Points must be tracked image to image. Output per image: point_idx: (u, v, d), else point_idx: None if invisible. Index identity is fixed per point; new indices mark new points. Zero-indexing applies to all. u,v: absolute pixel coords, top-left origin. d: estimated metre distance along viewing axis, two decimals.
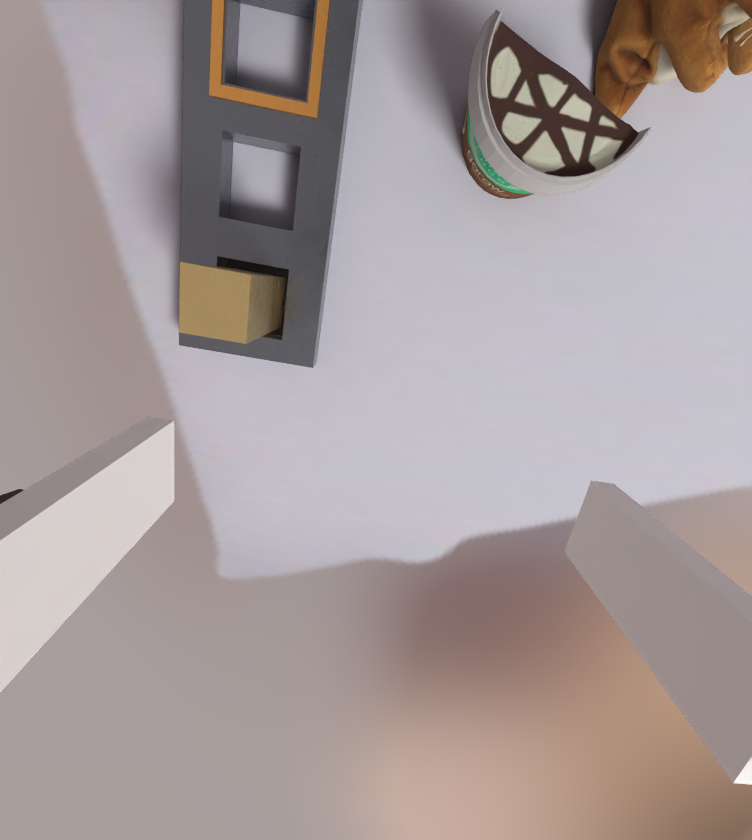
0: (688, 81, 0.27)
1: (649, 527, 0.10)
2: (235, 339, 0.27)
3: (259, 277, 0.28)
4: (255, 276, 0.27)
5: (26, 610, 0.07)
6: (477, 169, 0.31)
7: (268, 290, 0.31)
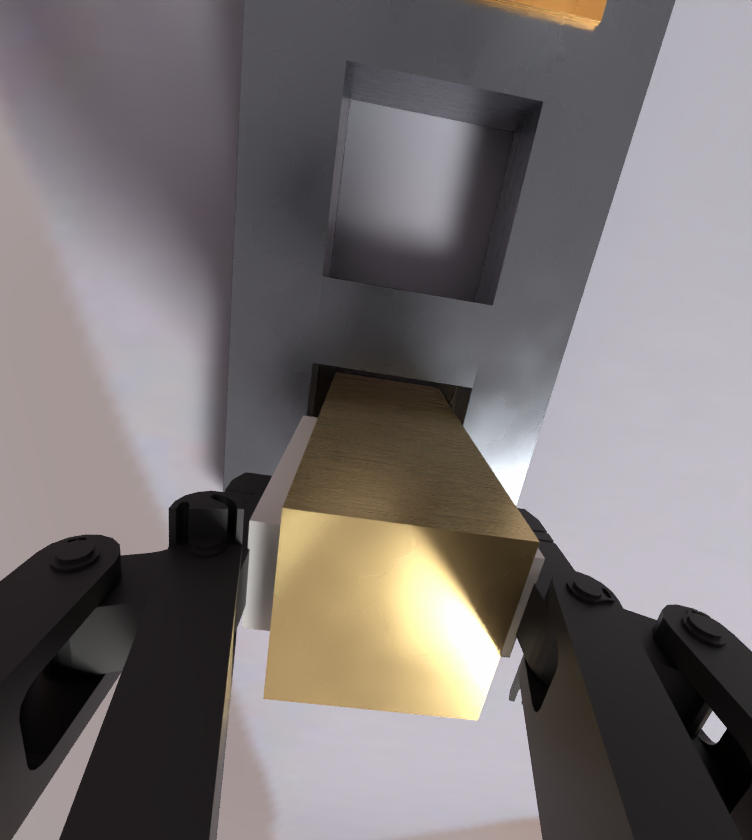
0: None
1: None
2: (445, 710, 0.08)
3: None
4: None
5: None
6: None
7: None
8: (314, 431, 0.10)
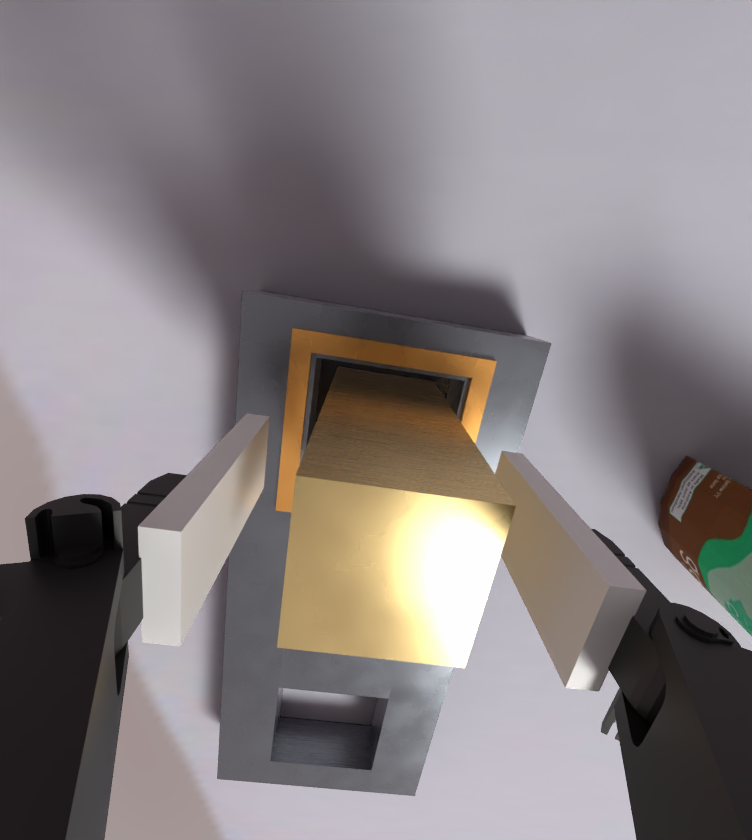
0: None
1: (534, 485, 0.11)
2: (436, 659, 0.09)
3: None
4: None
5: (202, 568, 0.08)
6: (702, 584, 0.19)
7: None
8: (320, 416, 0.11)
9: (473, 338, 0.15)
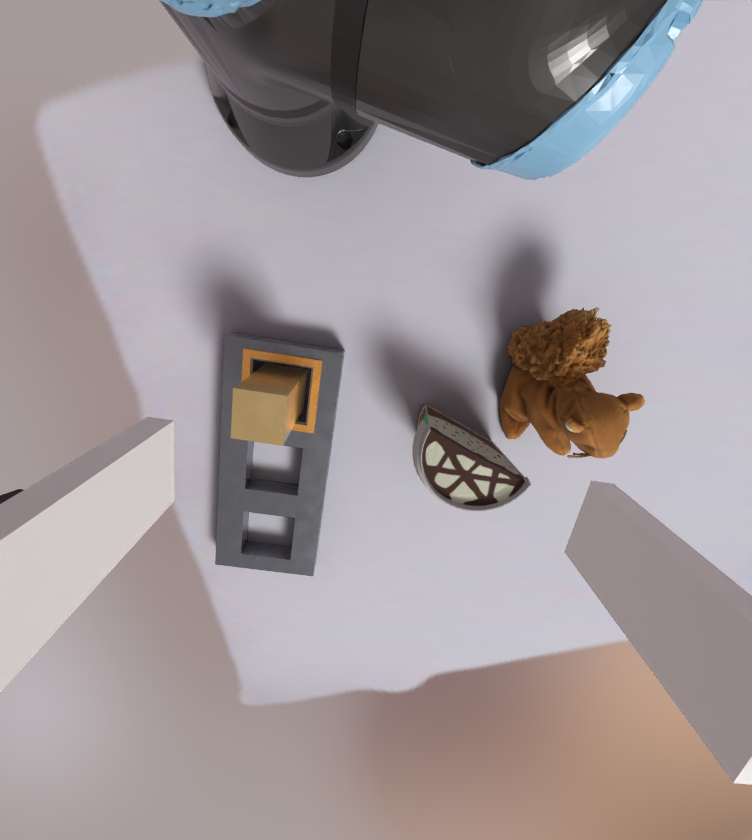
0: (551, 449, 0.40)
1: (649, 527, 0.10)
2: (274, 442, 0.34)
3: (292, 391, 0.35)
4: (290, 393, 0.34)
5: (27, 610, 0.07)
6: None
7: (297, 392, 0.38)
8: (246, 378, 0.36)
9: (312, 352, 0.40)
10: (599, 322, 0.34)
